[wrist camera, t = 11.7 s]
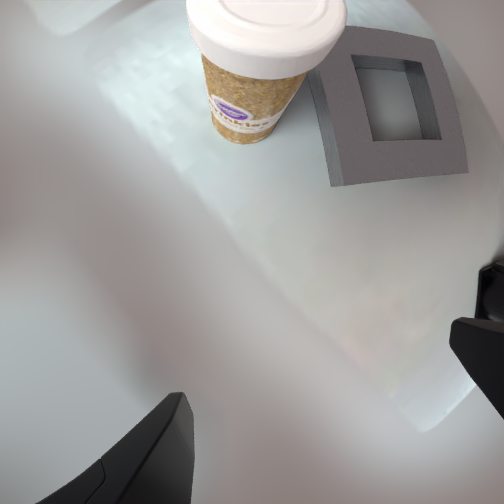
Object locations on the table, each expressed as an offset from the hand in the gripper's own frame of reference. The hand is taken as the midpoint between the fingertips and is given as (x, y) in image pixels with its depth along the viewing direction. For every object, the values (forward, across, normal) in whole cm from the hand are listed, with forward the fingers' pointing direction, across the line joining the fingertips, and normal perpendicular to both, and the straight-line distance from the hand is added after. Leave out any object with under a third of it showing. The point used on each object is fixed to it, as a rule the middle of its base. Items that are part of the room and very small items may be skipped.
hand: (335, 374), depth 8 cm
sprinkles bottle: (+13, 0, -11) cm, 17 cm away
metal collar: (+13, -11, -11) cm, 20 cm away
